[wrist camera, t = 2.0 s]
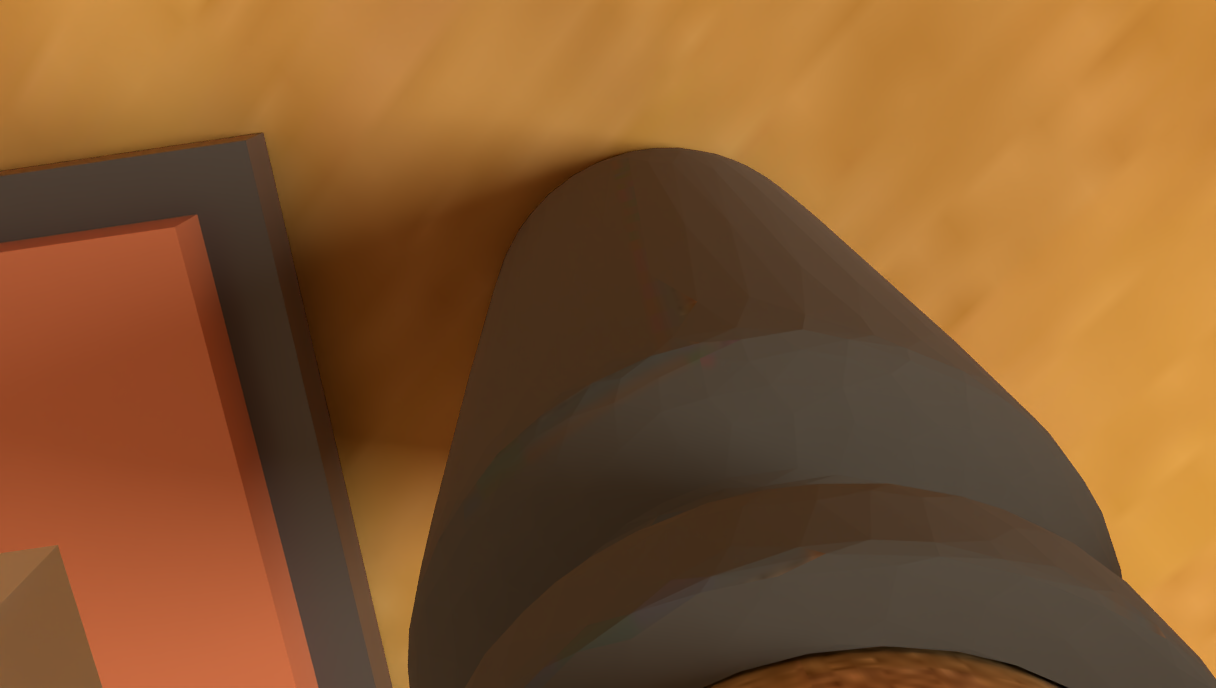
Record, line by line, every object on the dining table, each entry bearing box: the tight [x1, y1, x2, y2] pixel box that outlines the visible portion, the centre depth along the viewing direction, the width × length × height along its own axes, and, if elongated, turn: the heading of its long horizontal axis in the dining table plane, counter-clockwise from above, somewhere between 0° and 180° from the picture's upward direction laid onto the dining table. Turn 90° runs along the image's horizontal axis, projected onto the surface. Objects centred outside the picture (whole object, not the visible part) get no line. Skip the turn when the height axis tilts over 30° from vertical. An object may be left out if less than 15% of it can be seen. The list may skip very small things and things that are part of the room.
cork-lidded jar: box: [408, 148, 1216, 688], centre depth 12 cm, size 6×6×15 cm
